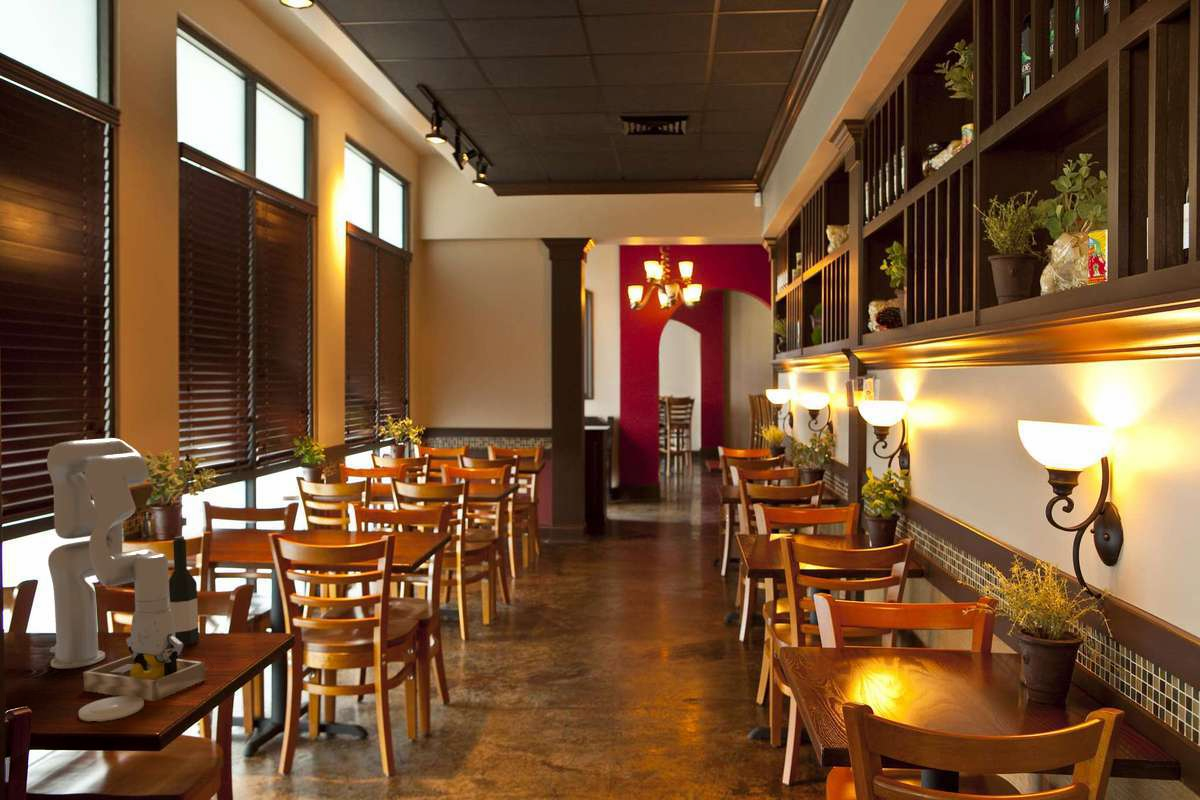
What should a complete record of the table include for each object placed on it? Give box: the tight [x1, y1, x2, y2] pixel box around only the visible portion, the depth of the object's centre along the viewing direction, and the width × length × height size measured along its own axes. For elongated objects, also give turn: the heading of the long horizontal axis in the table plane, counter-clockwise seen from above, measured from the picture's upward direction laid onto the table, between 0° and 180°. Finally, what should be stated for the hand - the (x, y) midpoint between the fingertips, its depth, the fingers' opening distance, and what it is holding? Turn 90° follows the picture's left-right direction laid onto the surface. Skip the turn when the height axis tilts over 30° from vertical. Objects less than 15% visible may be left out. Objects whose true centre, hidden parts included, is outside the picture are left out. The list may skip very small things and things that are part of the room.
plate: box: [78, 696, 145, 722], centre depth 207 cm, size 13×13×1 cm
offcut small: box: [110, 664, 134, 677], centre depth 226 cm, size 4×6×2 cm, turn 166°
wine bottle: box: [169, 535, 200, 647], centre depth 259 cm, size 8×8×30 cm
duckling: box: [130, 648, 171, 680], centre depth 222 cm, size 11×5×10 cm, turn 121°
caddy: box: [82, 654, 206, 702], centre depth 224 cm, size 23×15×4 cm, turn 68°
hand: (155, 675), depth 222 cm, fingers open, 9 cm apart
